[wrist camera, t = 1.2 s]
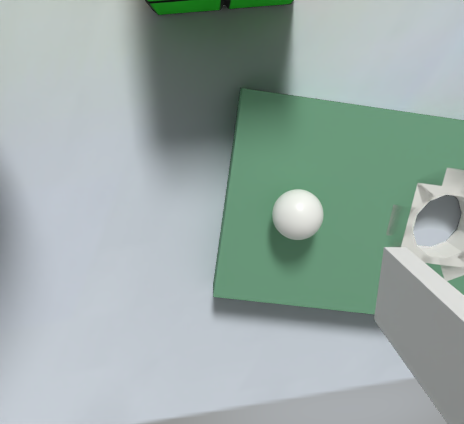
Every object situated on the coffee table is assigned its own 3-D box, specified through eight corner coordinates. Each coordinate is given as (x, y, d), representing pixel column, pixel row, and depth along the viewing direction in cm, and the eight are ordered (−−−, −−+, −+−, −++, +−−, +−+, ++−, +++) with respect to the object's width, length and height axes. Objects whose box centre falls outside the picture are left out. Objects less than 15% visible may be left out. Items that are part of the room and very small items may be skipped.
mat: (213, 283, 37) (213, 296, 35) (240, 87, 33) (242, 88, 30) (482, 313, 39) (500, 328, 37) (542, 131, 35) (566, 135, 32)
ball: (265, 227, 33) (271, 244, 30) (273, 181, 32) (280, 192, 29) (312, 233, 34) (323, 250, 30) (321, 187, 33) (334, 199, 29)
